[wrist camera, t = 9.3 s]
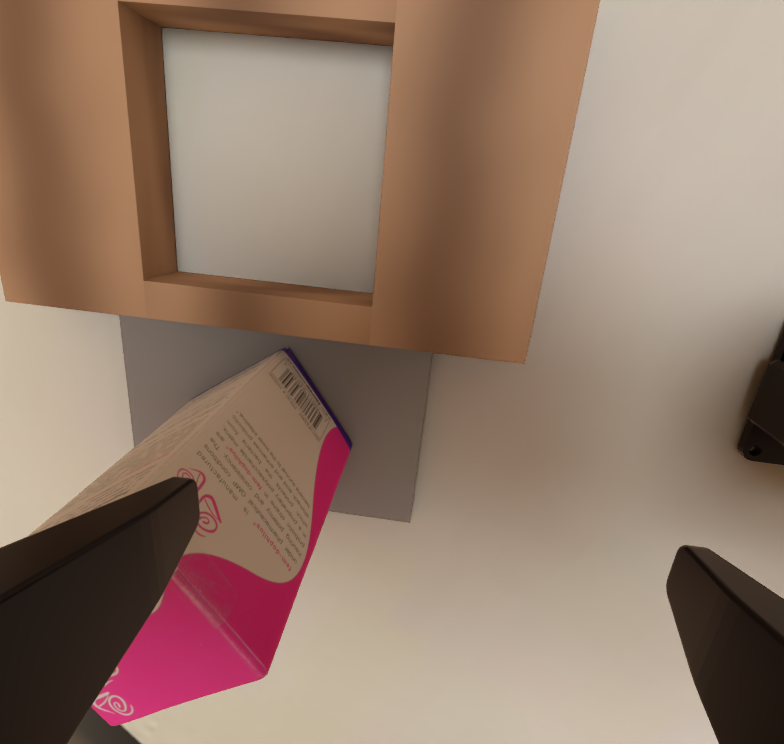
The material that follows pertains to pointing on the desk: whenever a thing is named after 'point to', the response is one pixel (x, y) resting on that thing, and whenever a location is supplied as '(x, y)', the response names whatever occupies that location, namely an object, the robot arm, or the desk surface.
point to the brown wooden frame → (400, 174)
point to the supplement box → (226, 532)
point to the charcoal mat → (328, 374)
